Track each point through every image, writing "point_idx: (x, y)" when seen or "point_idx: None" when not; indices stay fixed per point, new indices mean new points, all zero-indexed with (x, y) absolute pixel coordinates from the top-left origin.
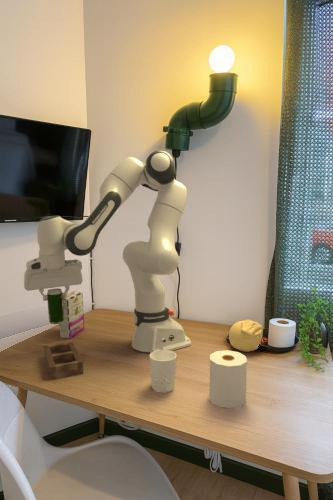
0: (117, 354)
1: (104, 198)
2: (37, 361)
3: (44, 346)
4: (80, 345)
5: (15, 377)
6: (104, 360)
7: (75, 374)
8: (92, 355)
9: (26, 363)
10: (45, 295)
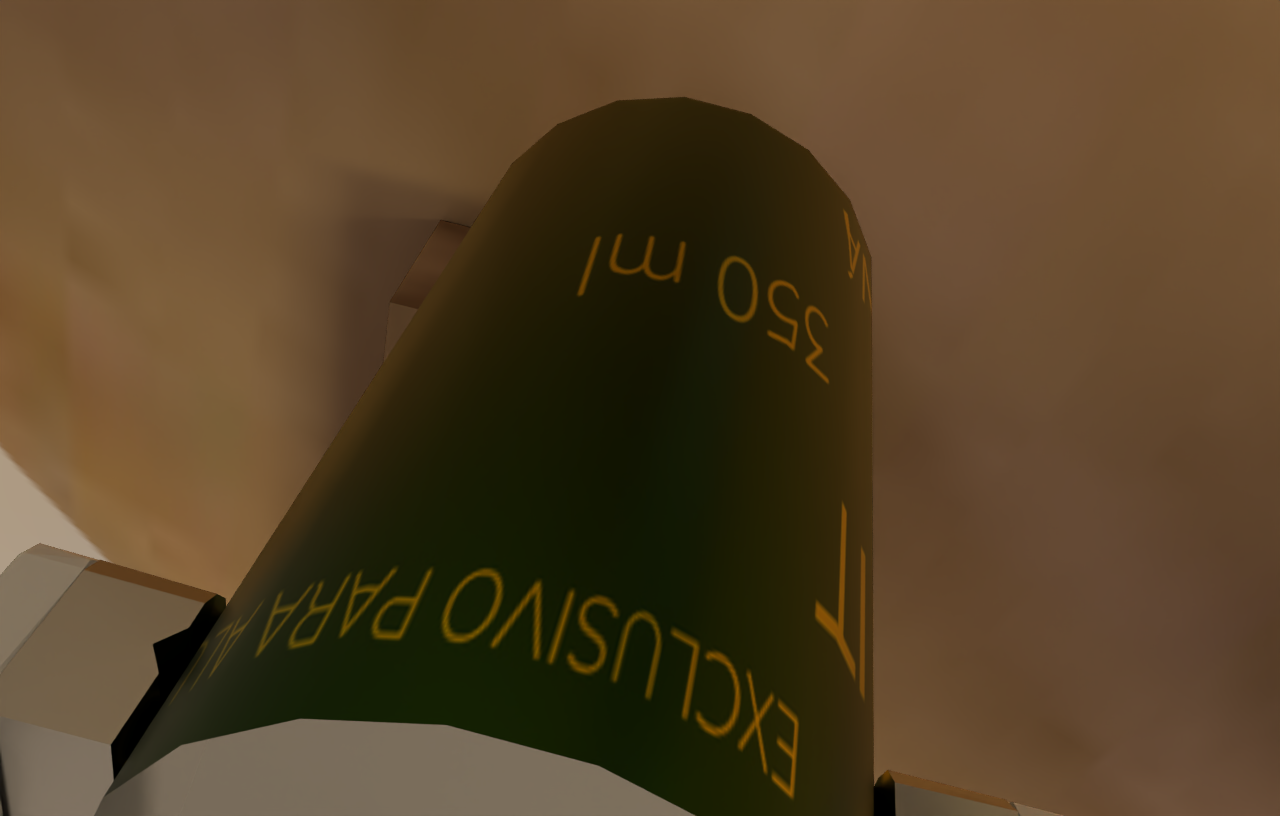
0: (1264, 697)
1: None
2: (330, 287)
3: (398, 319)
4: (1100, 152)
5: (62, 498)
6: (1029, 720)
7: None
8: (1007, 550)
9: (190, 256)
10: (33, 813)
